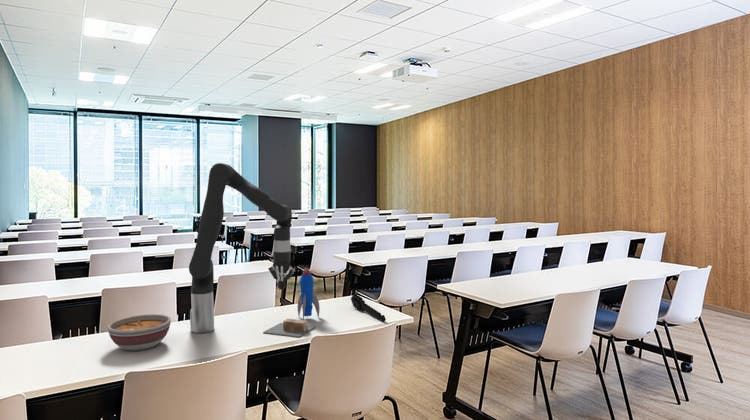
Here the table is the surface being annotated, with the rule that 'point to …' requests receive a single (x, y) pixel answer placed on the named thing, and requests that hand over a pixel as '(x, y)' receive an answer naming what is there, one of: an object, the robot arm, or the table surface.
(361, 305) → the black long tapered piece
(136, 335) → the bowl
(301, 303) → the toy rocket
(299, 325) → the walnut block
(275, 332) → the rubber mat
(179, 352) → the table surface
